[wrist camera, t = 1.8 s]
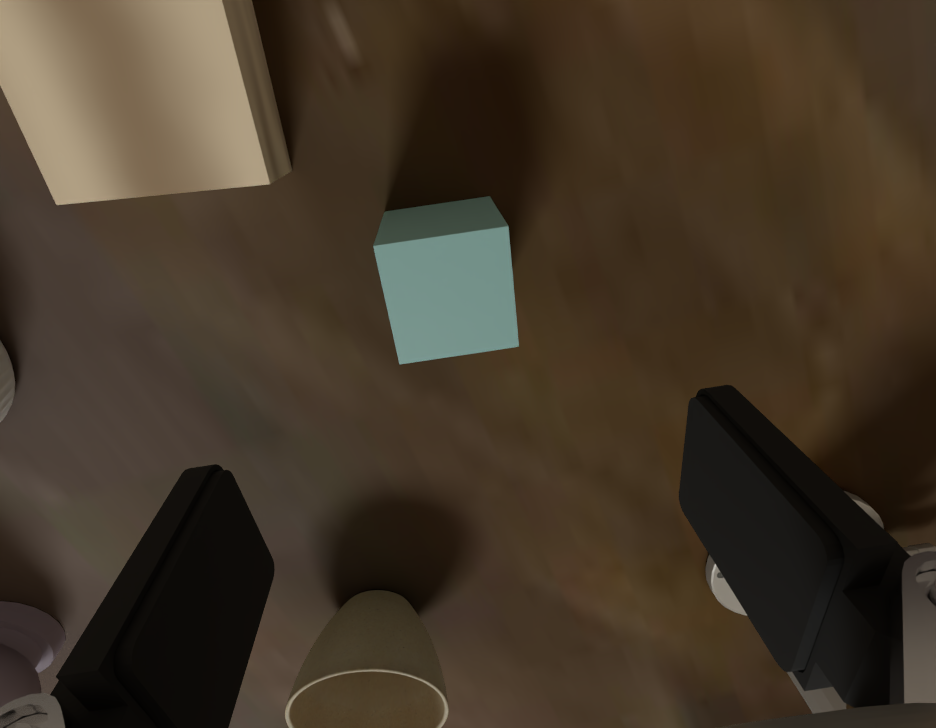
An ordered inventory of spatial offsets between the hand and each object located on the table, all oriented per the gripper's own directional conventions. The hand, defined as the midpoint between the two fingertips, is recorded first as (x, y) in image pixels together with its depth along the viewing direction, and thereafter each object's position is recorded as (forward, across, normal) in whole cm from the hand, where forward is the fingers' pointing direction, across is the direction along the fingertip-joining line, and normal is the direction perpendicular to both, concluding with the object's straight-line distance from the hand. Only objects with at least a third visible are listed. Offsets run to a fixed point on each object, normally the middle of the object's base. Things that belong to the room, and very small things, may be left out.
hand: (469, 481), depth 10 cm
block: (+16, 0, 0) cm, 16 cm away
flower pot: (+16, +9, +26) cm, 32 cm away
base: (+17, +10, -9) cm, 21 cm away
